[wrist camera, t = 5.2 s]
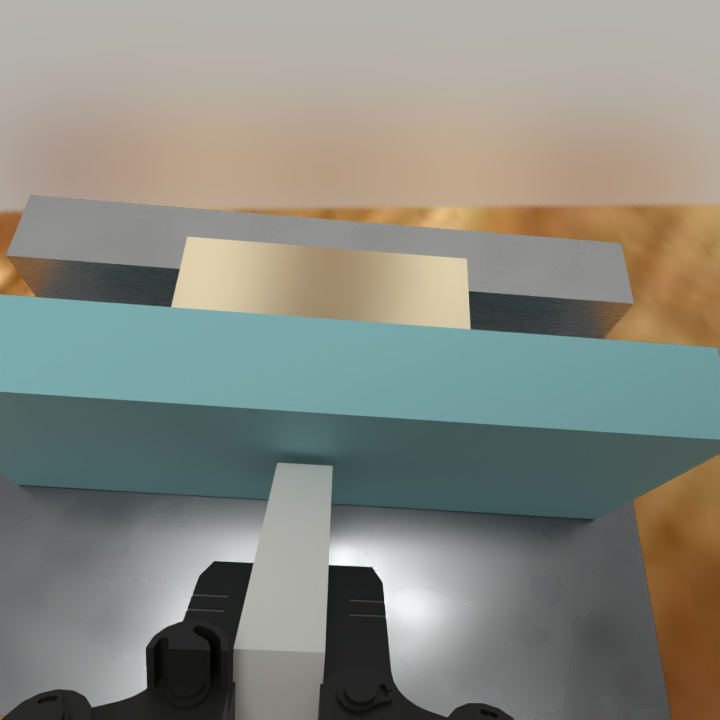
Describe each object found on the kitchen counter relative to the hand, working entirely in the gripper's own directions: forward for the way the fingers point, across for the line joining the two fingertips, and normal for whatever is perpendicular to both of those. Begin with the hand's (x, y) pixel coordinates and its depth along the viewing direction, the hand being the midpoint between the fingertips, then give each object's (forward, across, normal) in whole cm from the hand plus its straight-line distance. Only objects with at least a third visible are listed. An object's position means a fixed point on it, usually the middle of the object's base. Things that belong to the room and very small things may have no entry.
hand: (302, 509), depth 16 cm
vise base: (+6, 0, -2) cm, 6 cm away
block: (+7, 0, +1) cm, 7 cm away
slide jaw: (+5, 0, -1) cm, 5 cm away
